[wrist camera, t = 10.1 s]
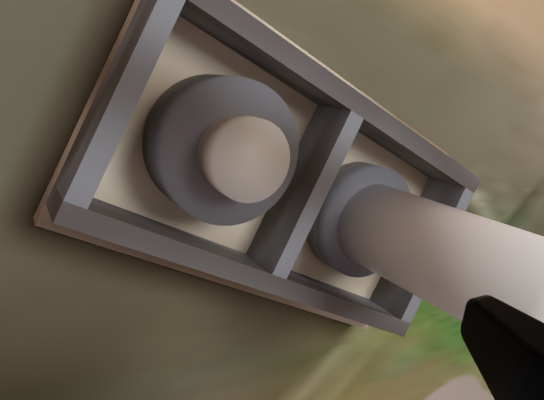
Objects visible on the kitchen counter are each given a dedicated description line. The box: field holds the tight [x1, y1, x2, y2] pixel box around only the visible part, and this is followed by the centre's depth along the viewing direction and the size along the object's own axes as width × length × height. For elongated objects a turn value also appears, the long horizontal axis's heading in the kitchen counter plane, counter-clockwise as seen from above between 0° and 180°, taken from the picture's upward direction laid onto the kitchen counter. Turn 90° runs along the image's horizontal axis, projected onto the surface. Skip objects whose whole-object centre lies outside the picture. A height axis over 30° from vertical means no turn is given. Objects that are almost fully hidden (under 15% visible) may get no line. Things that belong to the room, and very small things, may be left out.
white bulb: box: [307, 162, 544, 323], centre depth 20 cm, size 6×6×11 cm
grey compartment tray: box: [33, 0, 481, 337], centre depth 21 cm, size 11×18×5 cm, turn 58°
